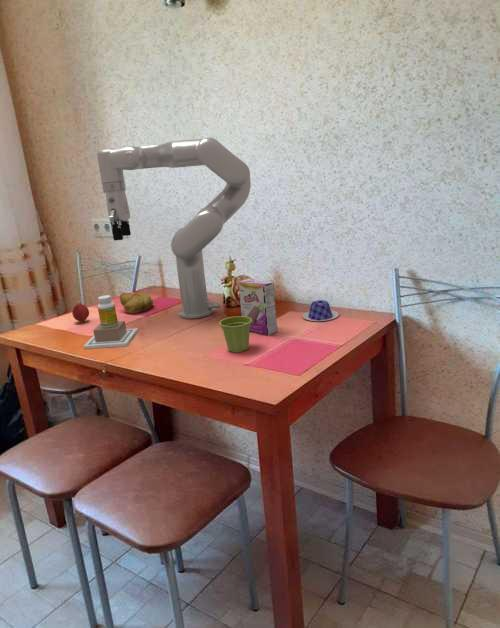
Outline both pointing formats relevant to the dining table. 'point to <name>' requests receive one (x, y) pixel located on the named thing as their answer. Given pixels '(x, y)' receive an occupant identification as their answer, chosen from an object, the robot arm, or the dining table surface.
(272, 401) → the dining table surface
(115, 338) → the block on square base
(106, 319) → the supplement bottle
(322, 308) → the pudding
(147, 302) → the olive yellow lumpy piece
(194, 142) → the robot arm
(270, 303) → the candy bar box
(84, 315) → the red round fruit
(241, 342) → the plant pot
